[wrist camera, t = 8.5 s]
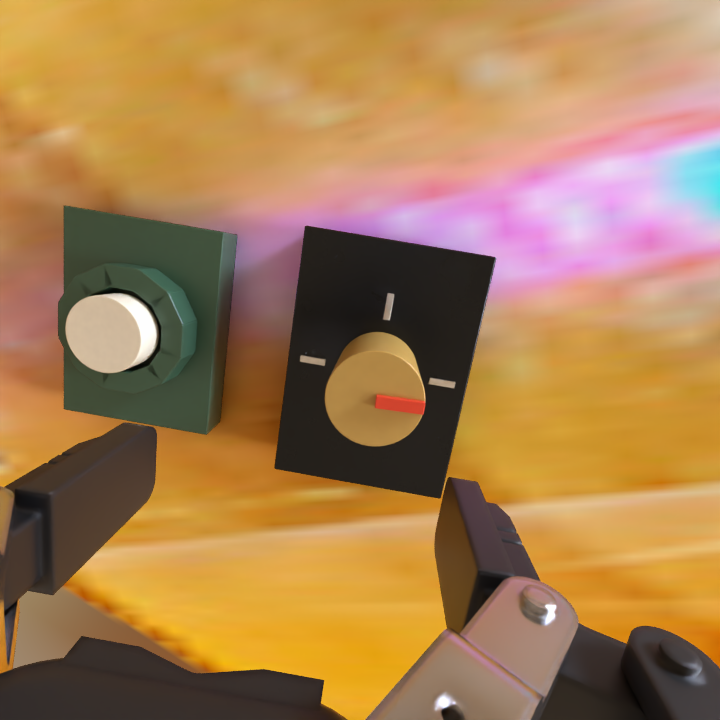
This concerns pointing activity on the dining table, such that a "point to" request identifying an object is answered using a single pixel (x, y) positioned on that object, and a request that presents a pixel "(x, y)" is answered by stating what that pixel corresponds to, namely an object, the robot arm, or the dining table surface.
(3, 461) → the dining table surface
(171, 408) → the button block
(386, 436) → the knob
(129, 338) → the button
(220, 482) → the dining table surface
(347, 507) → the dining table surface
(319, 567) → the dining table surface
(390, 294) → the panel
